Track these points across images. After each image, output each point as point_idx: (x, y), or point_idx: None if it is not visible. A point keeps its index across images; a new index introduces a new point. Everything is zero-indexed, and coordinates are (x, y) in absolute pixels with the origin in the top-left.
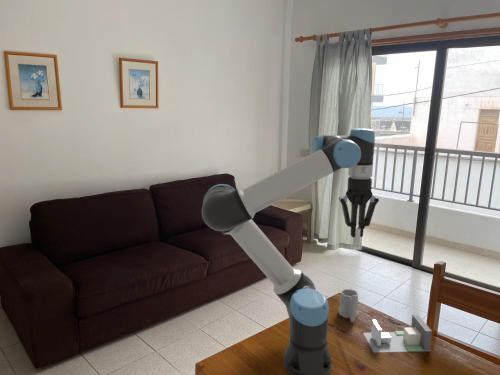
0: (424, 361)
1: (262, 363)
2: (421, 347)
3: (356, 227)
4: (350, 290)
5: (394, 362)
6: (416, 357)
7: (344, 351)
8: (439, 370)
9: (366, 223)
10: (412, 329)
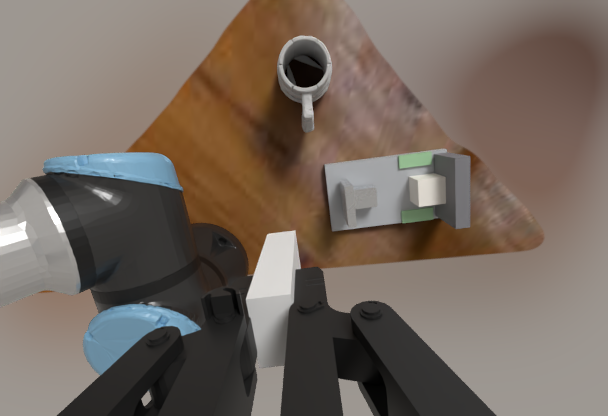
0: (423, 236)
1: None
2: (434, 207)
3: (267, 335)
4: (311, 41)
5: (366, 244)
6: (413, 226)
7: (277, 221)
8: (439, 258)
9: (365, 395)
10: (434, 187)
